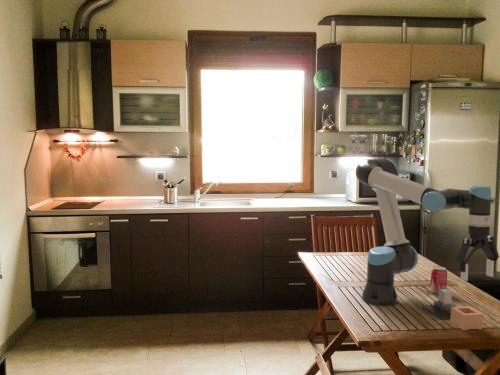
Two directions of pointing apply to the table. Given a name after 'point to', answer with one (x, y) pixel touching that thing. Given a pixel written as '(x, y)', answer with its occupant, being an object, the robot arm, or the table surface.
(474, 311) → the collar
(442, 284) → the soda can
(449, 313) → the post stand
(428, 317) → the table surface
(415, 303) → the table surface
